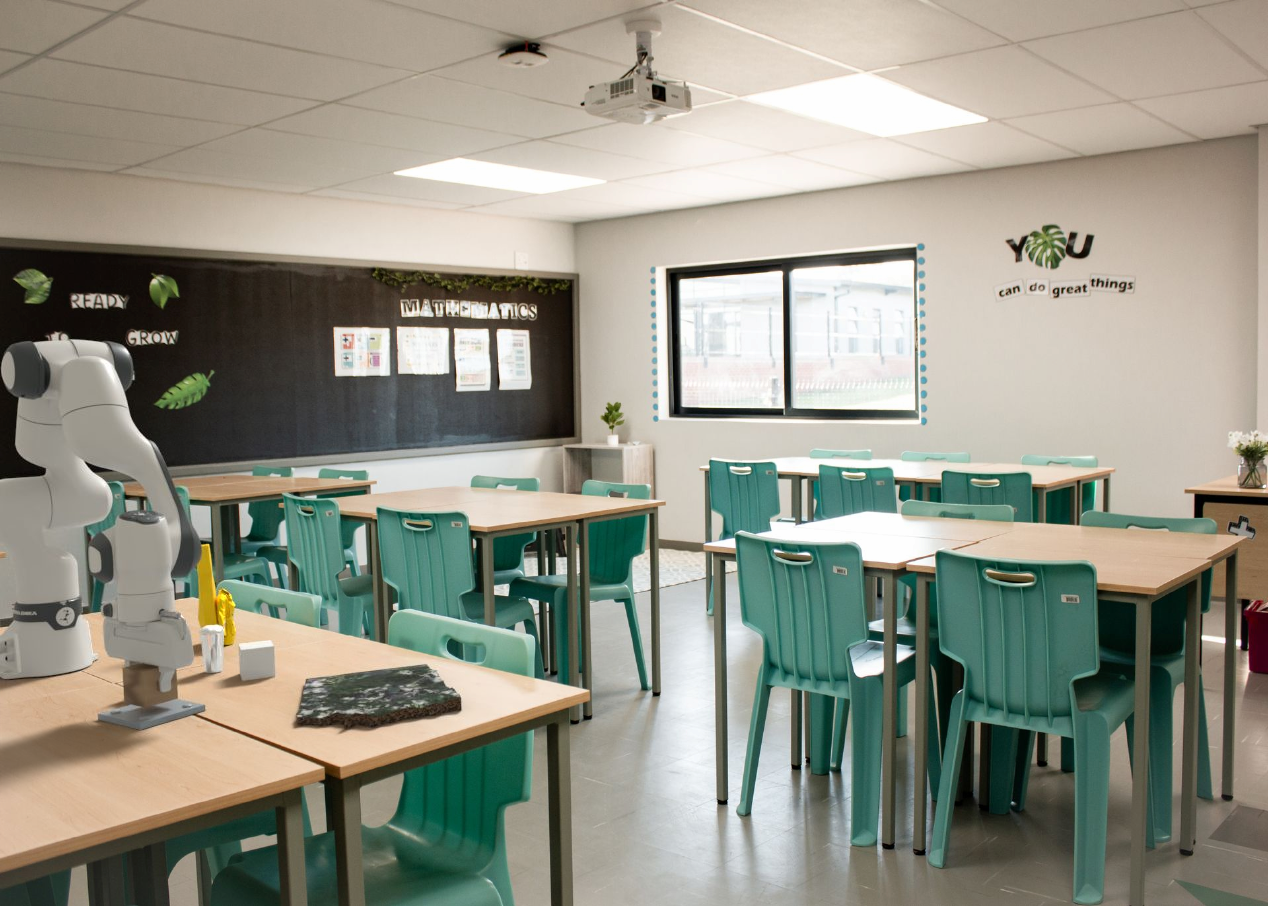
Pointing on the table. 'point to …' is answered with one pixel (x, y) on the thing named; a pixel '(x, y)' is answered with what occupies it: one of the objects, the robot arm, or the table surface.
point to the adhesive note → (256, 660)
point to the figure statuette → (214, 600)
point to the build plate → (151, 713)
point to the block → (146, 686)
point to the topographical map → (376, 697)
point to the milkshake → (212, 647)
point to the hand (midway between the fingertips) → (150, 688)
